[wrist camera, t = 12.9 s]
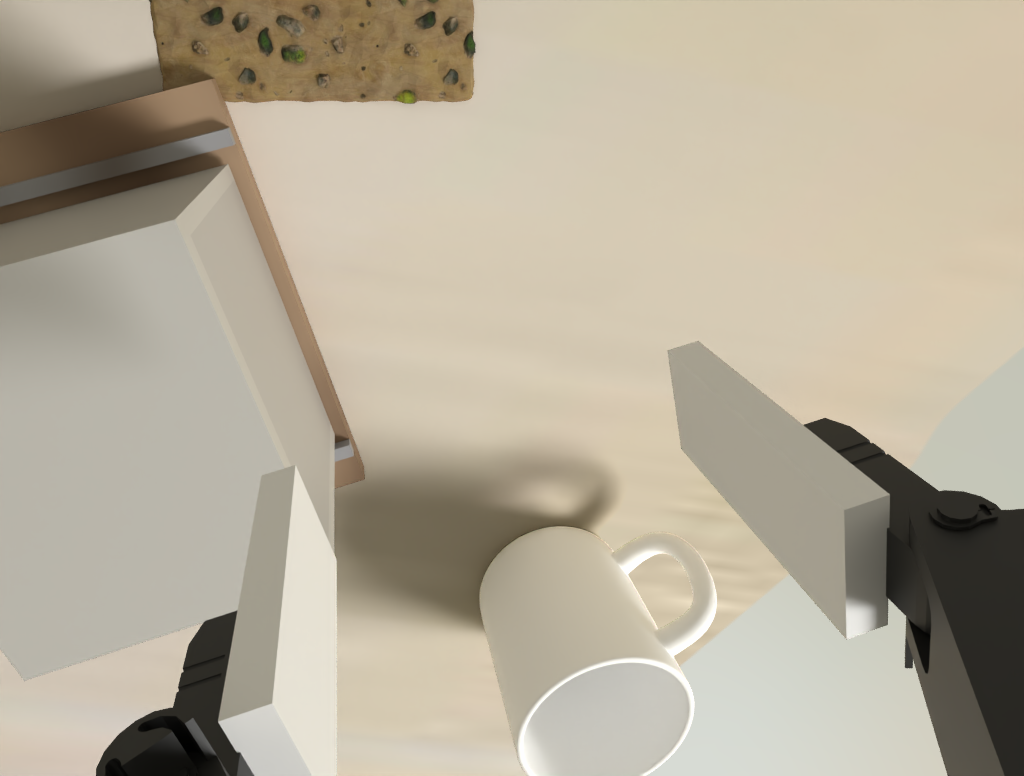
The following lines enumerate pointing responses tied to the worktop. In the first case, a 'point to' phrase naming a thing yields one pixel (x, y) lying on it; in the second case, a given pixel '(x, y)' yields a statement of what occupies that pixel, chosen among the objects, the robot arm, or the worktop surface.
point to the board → (151, 159)
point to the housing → (141, 417)
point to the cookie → (319, 48)
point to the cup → (590, 652)
